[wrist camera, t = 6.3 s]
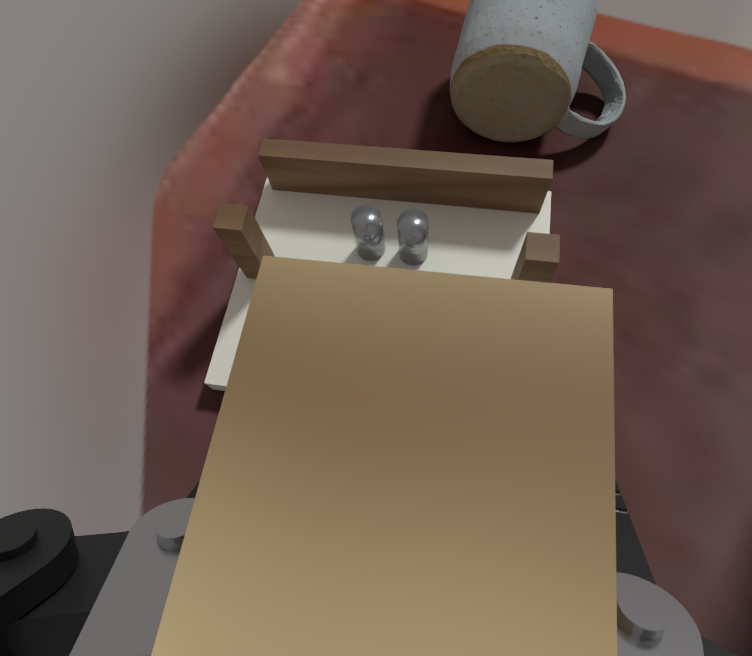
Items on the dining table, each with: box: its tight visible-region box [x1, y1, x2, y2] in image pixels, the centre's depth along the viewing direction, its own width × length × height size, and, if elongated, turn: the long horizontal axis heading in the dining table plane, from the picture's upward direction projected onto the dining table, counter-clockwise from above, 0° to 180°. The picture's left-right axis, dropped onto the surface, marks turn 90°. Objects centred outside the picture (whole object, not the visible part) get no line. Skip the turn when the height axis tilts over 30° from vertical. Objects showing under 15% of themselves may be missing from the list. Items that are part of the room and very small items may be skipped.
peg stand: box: [204, 177, 551, 391], centre depth 28 cm, size 14×17×1 cm
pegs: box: [351, 205, 429, 266], centre depth 26 cm, size 6×4×3 cm
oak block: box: [151, 256, 617, 656], centre depth 9 cm, size 6×4×10 cm, turn 171°
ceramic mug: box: [450, 0, 626, 142], centre depth 29 cm, size 11×8×8 cm
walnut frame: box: [213, 139, 560, 283], centre depth 26 cm, size 7×16×5 cm, turn 80°
